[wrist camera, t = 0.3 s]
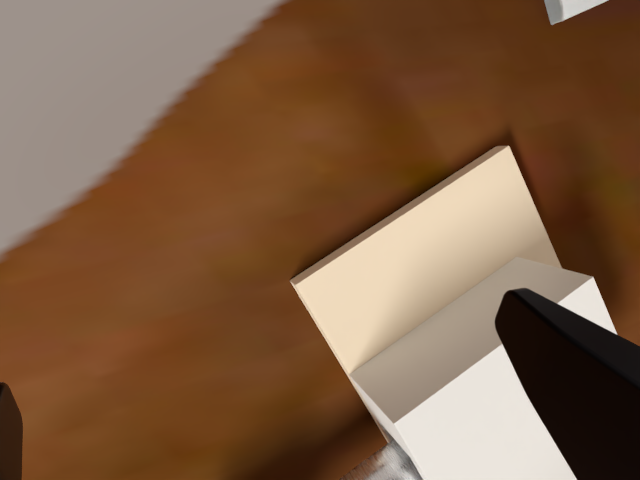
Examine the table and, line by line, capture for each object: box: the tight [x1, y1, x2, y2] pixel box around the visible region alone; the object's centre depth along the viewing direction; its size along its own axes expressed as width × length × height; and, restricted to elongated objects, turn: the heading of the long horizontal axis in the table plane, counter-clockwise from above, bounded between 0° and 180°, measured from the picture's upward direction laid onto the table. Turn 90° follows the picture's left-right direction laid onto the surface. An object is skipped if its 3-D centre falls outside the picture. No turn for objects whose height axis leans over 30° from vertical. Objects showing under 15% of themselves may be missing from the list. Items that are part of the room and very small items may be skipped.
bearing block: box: [290, 146, 617, 480], centre depth 25 cm, size 18×12×6 cm, turn 30°
